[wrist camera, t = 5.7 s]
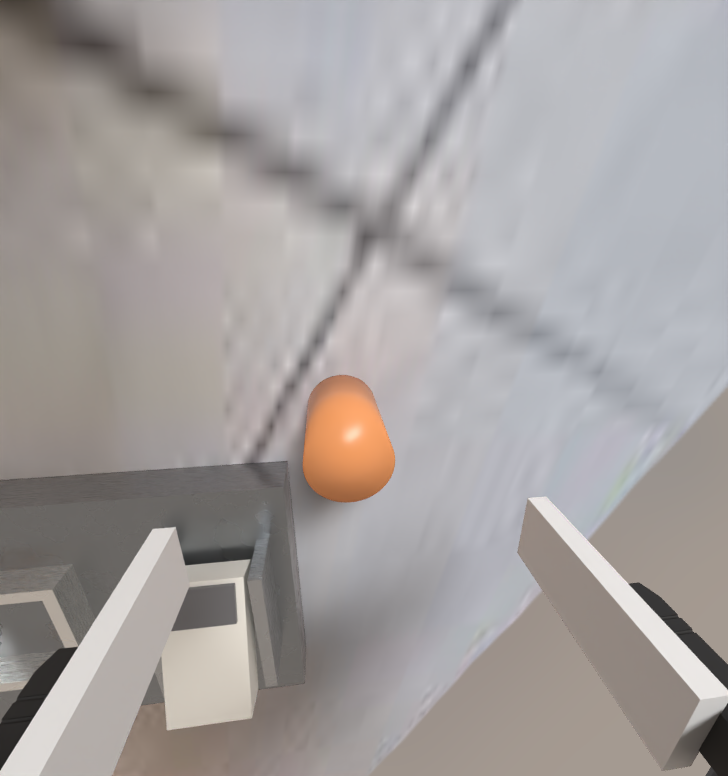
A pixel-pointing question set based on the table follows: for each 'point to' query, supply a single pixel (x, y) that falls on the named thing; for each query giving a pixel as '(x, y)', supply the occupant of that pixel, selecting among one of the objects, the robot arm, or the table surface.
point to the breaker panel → (122, 543)
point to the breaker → (212, 649)
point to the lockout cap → (346, 441)
